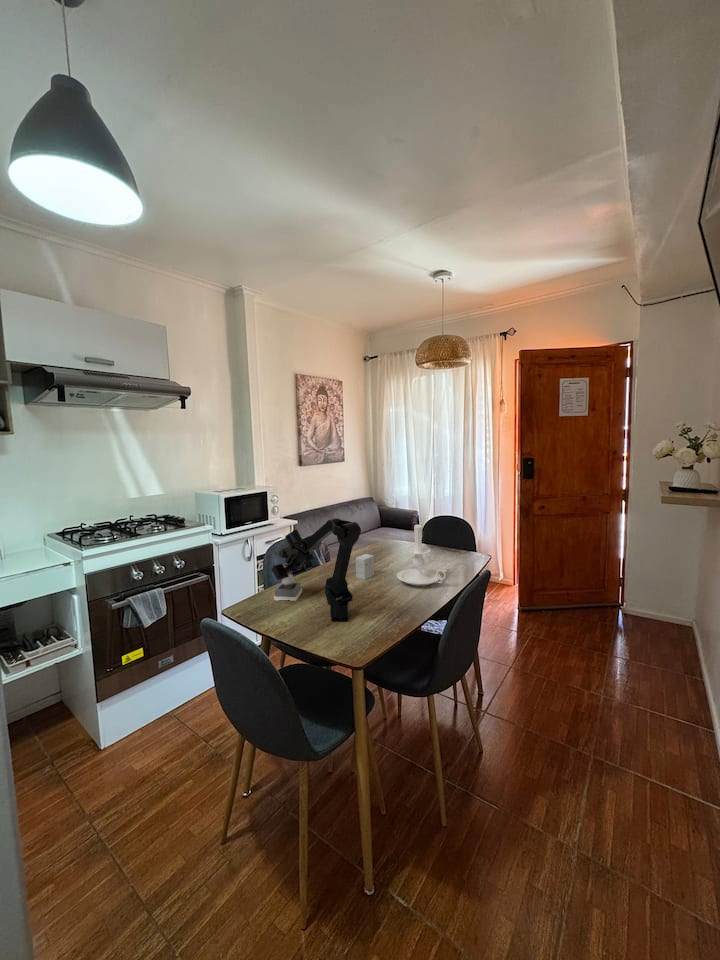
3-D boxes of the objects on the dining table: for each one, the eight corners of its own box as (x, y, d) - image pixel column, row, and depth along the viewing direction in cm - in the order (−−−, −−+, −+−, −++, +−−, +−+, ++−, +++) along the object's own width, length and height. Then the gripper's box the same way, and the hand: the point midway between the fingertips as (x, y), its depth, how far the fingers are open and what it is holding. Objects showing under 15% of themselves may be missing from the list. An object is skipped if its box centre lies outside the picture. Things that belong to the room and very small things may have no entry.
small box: (366, 573, 205) (365, 553, 204) (374, 575, 201) (374, 555, 200) (355, 578, 199) (355, 557, 198) (364, 580, 195) (364, 559, 194)
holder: (302, 591, 184) (301, 582, 183) (296, 600, 174) (295, 590, 173) (281, 591, 185) (280, 581, 184) (273, 600, 175) (273, 590, 174)
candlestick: (436, 596, 174) (435, 533, 171) (388, 584, 189) (387, 526, 186) (456, 581, 190) (456, 523, 187) (411, 571, 205) (410, 518, 202)
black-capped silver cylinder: (296, 591, 180) (294, 564, 178) (288, 595, 175) (286, 567, 174) (288, 589, 182) (286, 562, 181) (280, 592, 178) (278, 565, 177)
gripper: (307, 537, 180) (294, 557, 189) (272, 547, 167) (259, 567, 176) (320, 558, 176) (305, 577, 185) (284, 569, 162) (270, 589, 171)
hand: (285, 577), depth 179 cm, fingers closed on black-capped silver cylinder, 5 cm apart
